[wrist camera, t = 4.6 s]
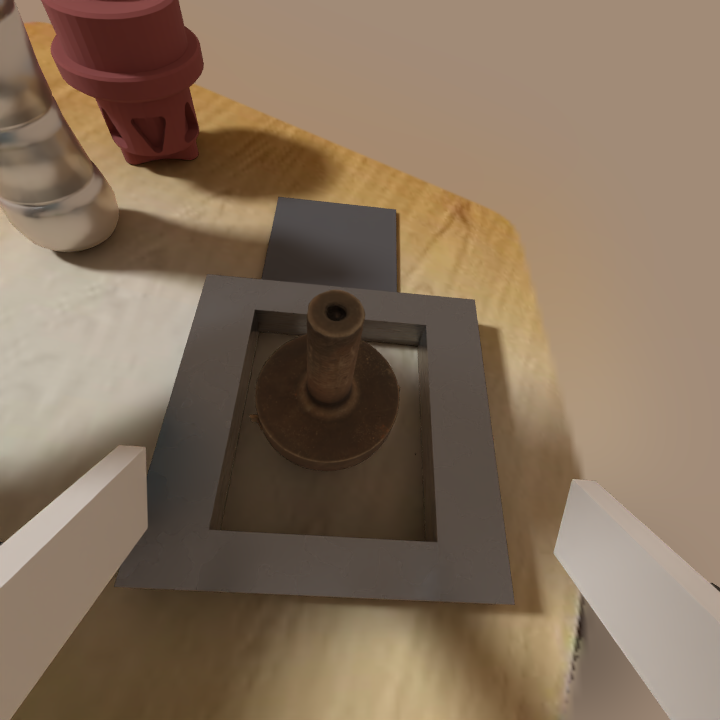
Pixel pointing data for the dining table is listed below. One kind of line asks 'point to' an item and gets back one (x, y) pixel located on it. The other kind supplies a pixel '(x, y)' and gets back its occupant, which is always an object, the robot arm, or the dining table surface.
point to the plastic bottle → (44, 155)
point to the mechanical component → (132, 71)
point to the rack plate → (307, 552)
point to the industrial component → (327, 390)
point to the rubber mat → (332, 245)
